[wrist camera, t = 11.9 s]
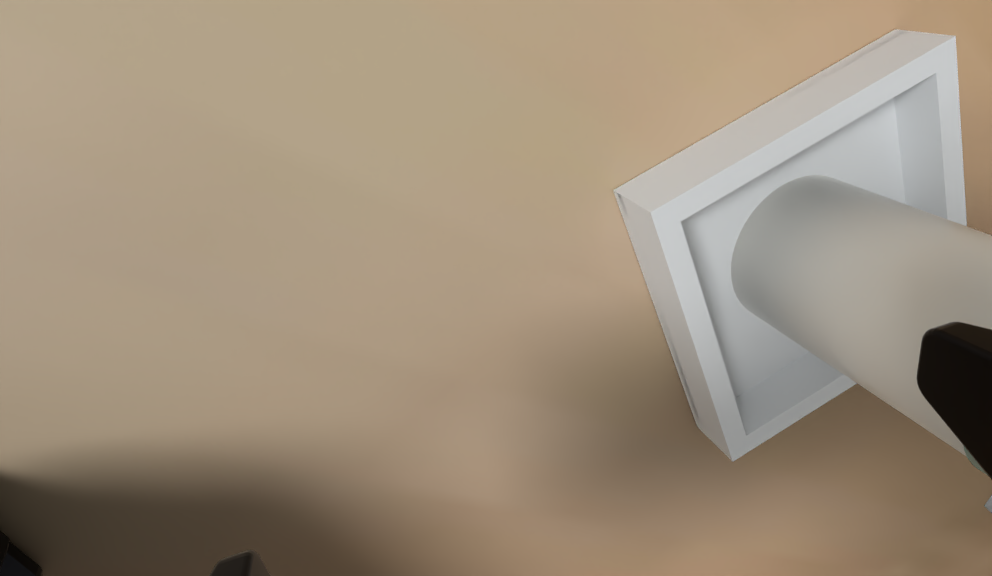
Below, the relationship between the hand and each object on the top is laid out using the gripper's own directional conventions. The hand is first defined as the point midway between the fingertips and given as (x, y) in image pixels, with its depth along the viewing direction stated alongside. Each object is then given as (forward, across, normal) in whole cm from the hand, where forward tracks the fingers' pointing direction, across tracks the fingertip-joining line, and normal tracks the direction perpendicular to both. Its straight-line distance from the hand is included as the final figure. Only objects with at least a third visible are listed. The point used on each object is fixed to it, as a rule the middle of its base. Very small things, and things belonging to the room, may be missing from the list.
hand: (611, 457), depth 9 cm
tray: (+14, -12, +7) cm, 19 cm away
